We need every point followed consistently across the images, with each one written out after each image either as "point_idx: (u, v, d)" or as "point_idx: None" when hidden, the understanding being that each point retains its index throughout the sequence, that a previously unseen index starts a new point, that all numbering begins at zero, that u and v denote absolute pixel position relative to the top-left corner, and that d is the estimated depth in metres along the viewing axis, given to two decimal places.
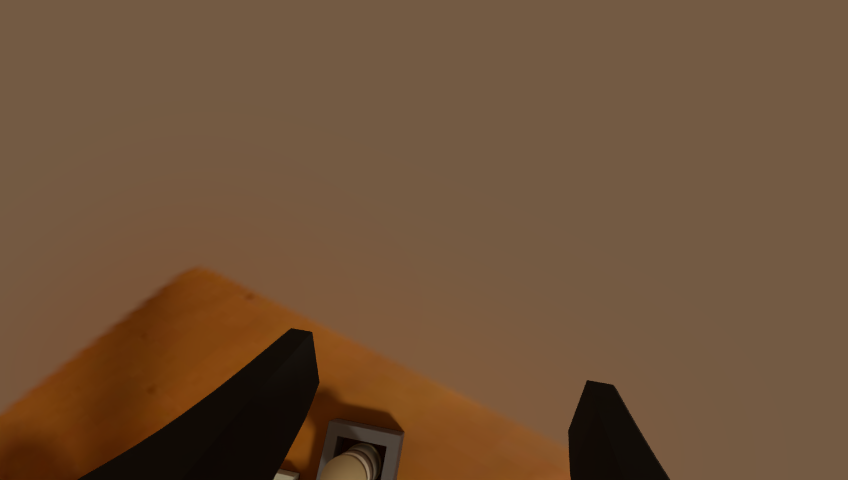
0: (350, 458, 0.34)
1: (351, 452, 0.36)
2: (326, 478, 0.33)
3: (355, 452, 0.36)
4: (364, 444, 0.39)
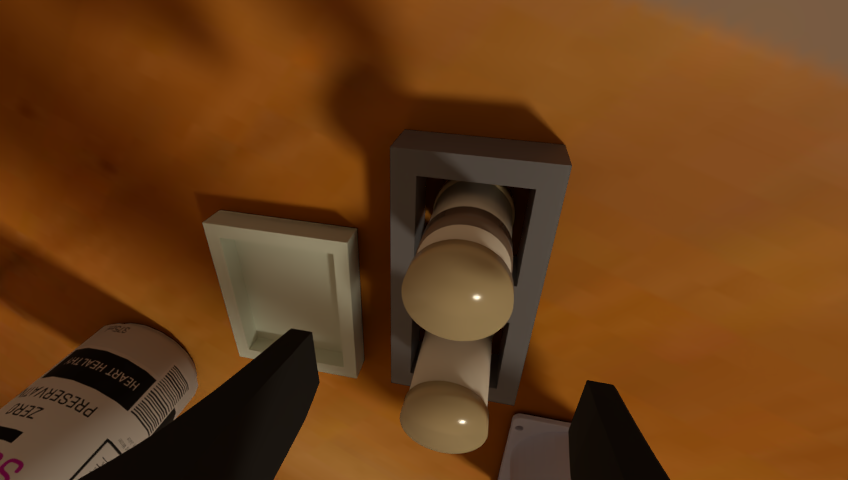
0: (470, 257, 0.13)
1: (461, 223, 0.15)
2: (416, 293, 0.14)
3: (470, 221, 0.15)
4: None
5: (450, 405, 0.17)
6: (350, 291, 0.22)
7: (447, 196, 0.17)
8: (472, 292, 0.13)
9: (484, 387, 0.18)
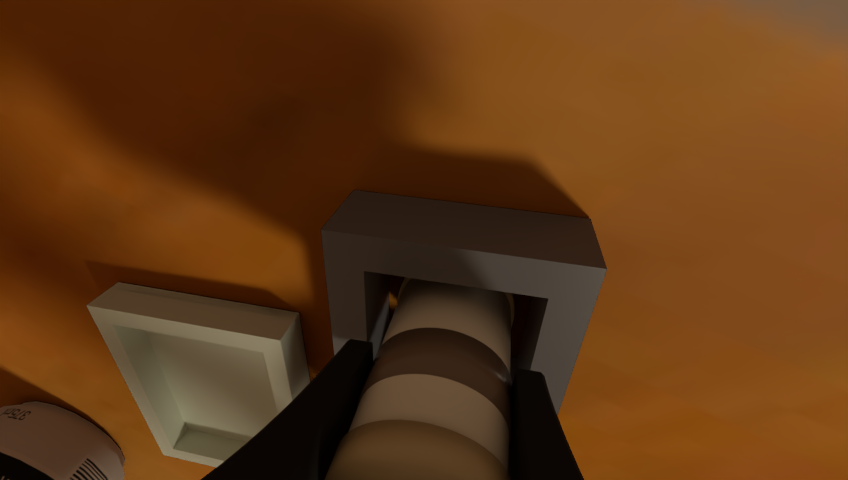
0: (433, 472, 0.07)
1: (426, 373, 0.09)
2: None
3: (441, 368, 0.09)
4: None
5: None
6: (291, 396, 0.16)
7: (413, 294, 0.12)
8: None
9: None
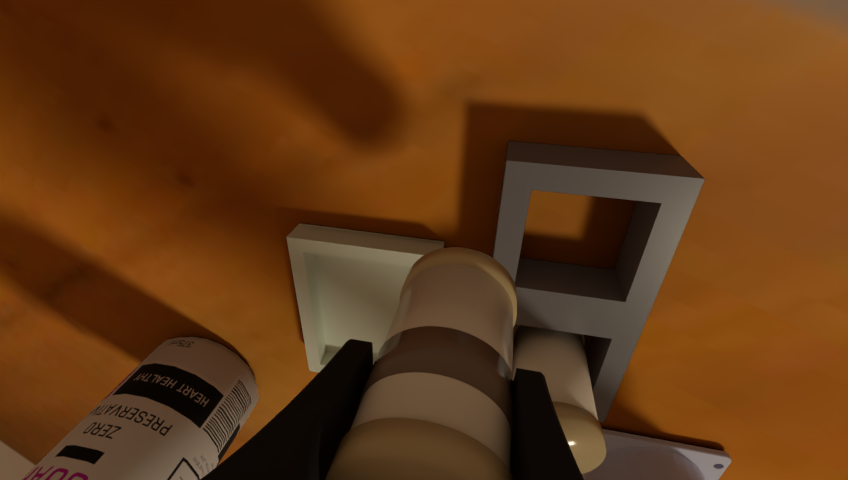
0: (435, 470, 0.07)
1: (428, 371, 0.09)
2: None
3: (443, 367, 0.09)
4: (460, 263, 0.12)
5: (569, 428, 0.16)
6: None
7: (416, 293, 0.12)
8: None
9: (594, 407, 0.17)
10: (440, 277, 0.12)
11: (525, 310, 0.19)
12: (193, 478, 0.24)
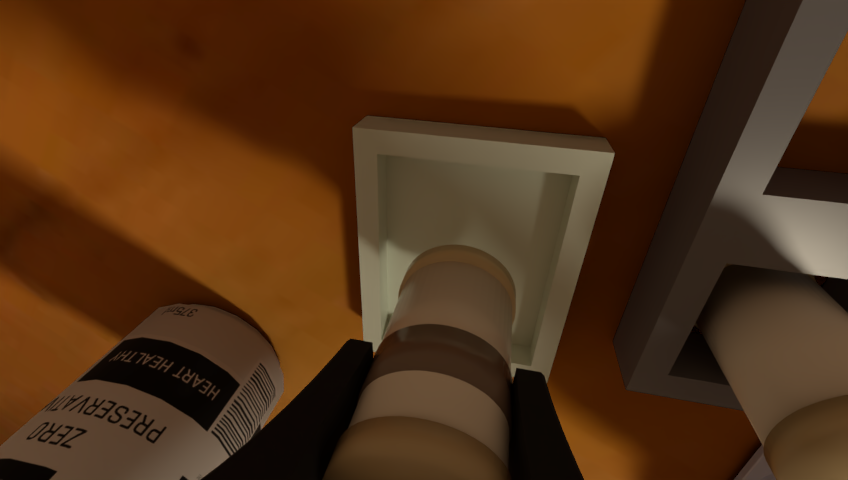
0: (434, 469, 0.07)
1: (427, 370, 0.09)
2: None
3: (443, 365, 0.09)
4: (459, 261, 0.12)
5: None
6: (587, 243, 0.14)
7: (415, 290, 0.12)
8: None
9: None
10: (439, 274, 0.12)
11: (768, 239, 0.11)
12: None
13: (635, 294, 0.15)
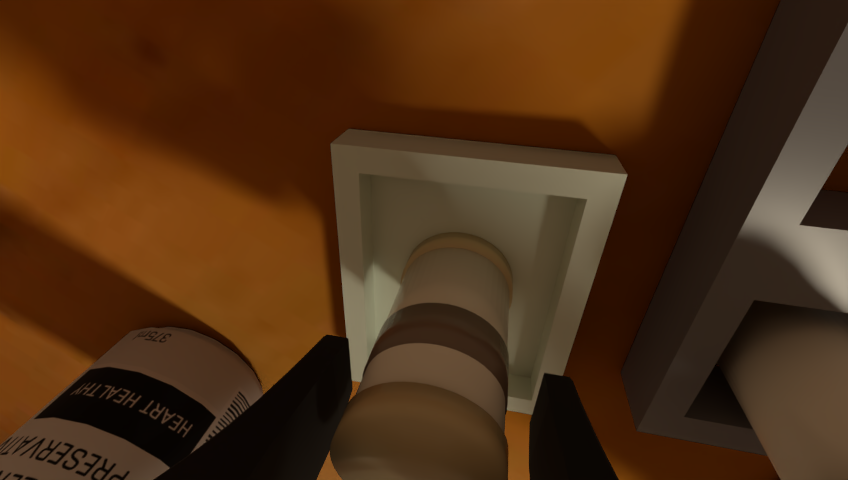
0: (435, 427, 0.08)
1: (429, 342, 0.09)
2: (353, 460, 0.09)
3: (443, 338, 0.09)
4: (459, 247, 0.13)
5: None
6: (594, 272, 0.12)
7: (417, 274, 0.12)
8: (440, 469, 0.08)
9: None
10: (440, 259, 0.12)
11: (804, 274, 0.10)
12: None
13: (647, 324, 0.14)
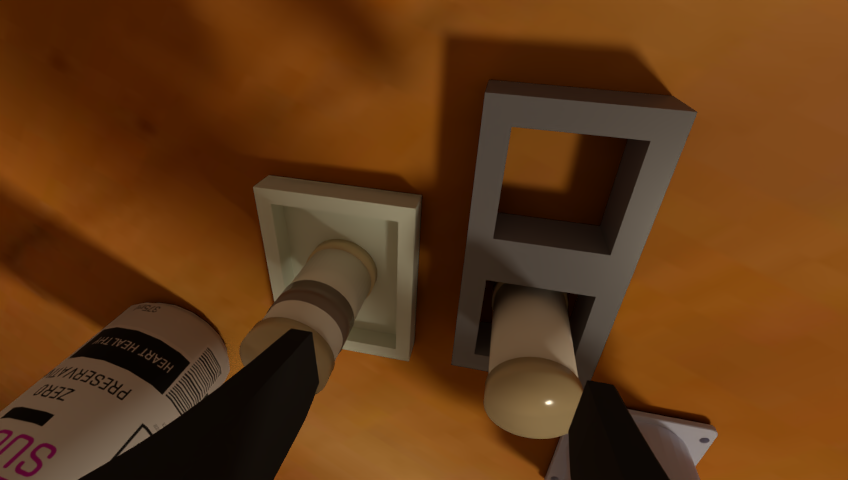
0: None
1: (296, 299, 0.17)
2: (252, 359, 0.17)
3: (305, 297, 0.17)
4: (336, 248, 0.21)
5: (546, 383, 0.15)
6: (412, 264, 0.20)
7: (307, 264, 0.20)
8: None
9: (575, 366, 0.16)
10: (322, 255, 0.20)
11: (505, 265, 0.18)
12: None
13: None
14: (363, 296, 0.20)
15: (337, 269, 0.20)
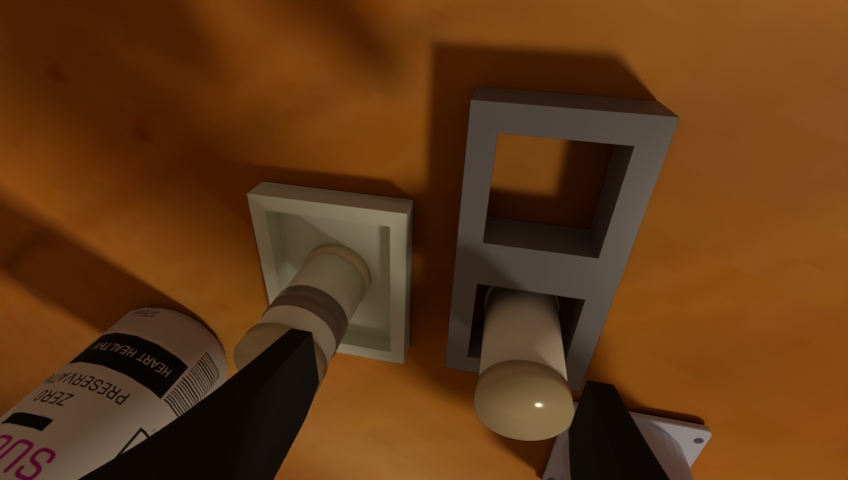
0: None
1: (289, 304, 0.18)
2: (246, 364, 0.17)
3: (298, 302, 0.18)
4: (330, 253, 0.21)
5: (534, 386, 0.15)
6: (405, 268, 0.20)
7: (301, 269, 0.21)
8: None
9: (564, 368, 0.17)
10: (316, 260, 0.21)
11: (495, 269, 0.18)
12: None
13: None
14: (357, 300, 0.21)
15: (330, 274, 0.20)
